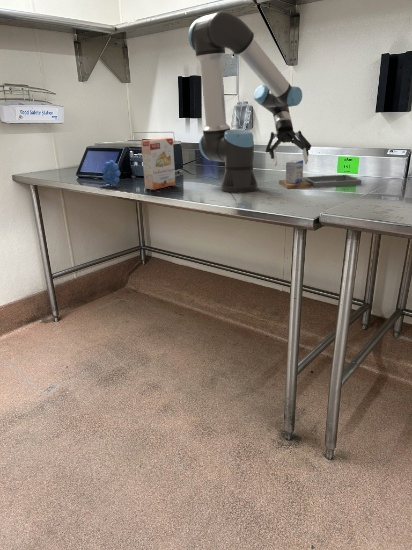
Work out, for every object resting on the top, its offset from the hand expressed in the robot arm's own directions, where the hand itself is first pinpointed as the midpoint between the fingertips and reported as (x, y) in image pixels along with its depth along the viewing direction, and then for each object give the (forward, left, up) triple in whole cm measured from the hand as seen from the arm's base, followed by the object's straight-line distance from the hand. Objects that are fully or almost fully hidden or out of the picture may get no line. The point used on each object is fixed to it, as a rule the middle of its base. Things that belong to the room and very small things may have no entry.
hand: (291, 163), depth 179 cm
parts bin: (+15, -8, -8) cm, 19 cm away
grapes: (-80, +17, -9) cm, 82 cm away
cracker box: (-58, +5, -9) cm, 58 cm away
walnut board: (-1, -8, -8) cm, 11 cm away
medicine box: (-1, -7, -7) cm, 10 cm away
